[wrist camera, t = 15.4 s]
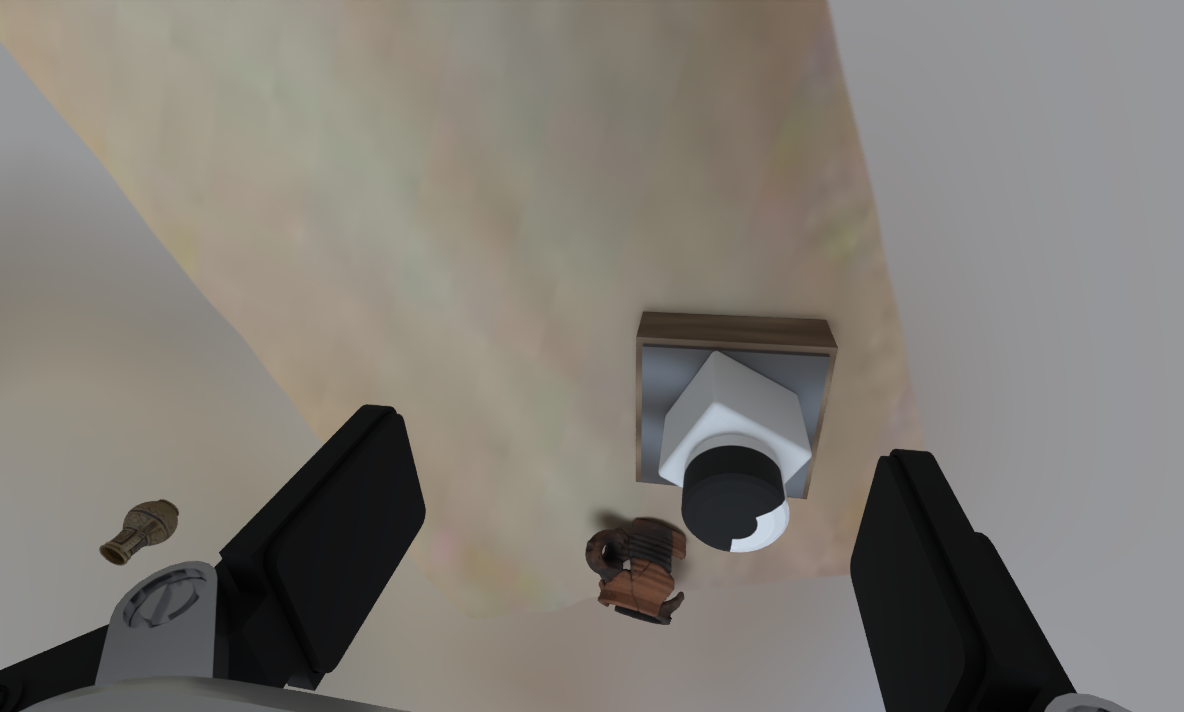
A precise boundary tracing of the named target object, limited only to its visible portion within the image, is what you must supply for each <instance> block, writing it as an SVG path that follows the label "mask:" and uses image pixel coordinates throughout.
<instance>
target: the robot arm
mask: <svg viewBox="0 0 1184 712" xmlns="http://www.w3.org/2000/svg"><path fill="white" fill-rule="evenodd" d="M425 514H426V509H425V504H424V500H423V496H422V492H421V488H420V483H419V479H418V475H417V471H416V467H415V463H414V459H413V455H412V451H411V447H410V443H409V439H408V435H407V431H406V427H405V423H404V419H403V417H402V416H401V415H400V414H397V412H396V410H395V409H394V408H393V407H391V406H380V405H368V404H367V405H363V406H362V407H361V408H359V409H358V410H357V412H356V413H355V414H354V415H353V416H352V417H351V418H350V419H349V420H348V421H347V422H346V423H345V424H344V425H343V426H342V427H341V428H340V429H339V430H338V431H337V432H336V433H335V434H334V435H333V436H332V437H331V438H330V439H329V440H328V441H327V442H326V443H325V444H324V445H323V446H322V448H321V449H319V451H318V452H317V453H316V454H315V455H314V456H313V457H312V458H311V459H310V460H309V461H308V462H307V463H306V464H305V465H304V466H303V467H302V468H301V469H300V470H299V471H298V472H297V473H296V474H295V475H294V476H293V477H292V478H291V479H290V480H289V481H288V483H286V484H285V485H284V486H283V487H282V488H281V489H280V490H279V492H278V493H277V494H276V495H275V496H274V497H273V498H272V499H271V500H270V501H269V502H268V503H267V504H266V505H265V506H264V507H263V508H262V509H261V510H260V511H259V512H258V513H257V514H256V515H255V516H254V517H253V518H252V519H251V520H250V521H249V522H248V523H247V525H246V526H244V527H243V528H242V529H241V530H240V532H239V533H238V534H237V535H236V536H235V537H234V538H233V539H232V540H231V541H230V542H229V543H228V544H227V545H226V546H225V547H224V548H223V549H222V550H221V551H220V552H219V553H220V555H221V557H222V560H221V561H220V562H219V563H218V564H217V565H216V566H215V567H214V568H213V567H212V566H211V565H210V564H209V563H205V562H201V561H189V562H183V563H179V564H175V565H171V566H169V567H166V568H164V569H162V570H160V571H157V572H155V573H153V574H152V575H150V576H149V577H147V578H146V579H144V580H142V581H141V582H139V583H138V584H137V585H136V586H134V587H133V588H132V589H131V590H130V591H129V592H127V593H126V594H125V596H124V597H123V598H122V599H121V600H120V602H119V603H118V604H117V605H116V607H115V609H114V612H113V614H112V616H111V619H110V623H109V624H108V625H105V626H103V627H101V628H98V629H96V630H94V631H91V632H89V633H86V634H84V635H82V636H79V637H77V638H75V639H72V640H70V641H68V642H65V643H63V644H61V645H58V646H56V647H54V648H51V649H49V650H47V651H44V652H42V653H40V654H37V655H35V656H33V657H30V658H28V659H25V660H23V661H21V662H18V663H16V664H14V665H12V666H9V667H7V668H4V669H2V670H0V712H409V711H404V710H398V709H393V708H387V707H382V706H376V705H371V704H366V703H360V702H355V701H350V700H344V699H339V698H334V697H328V696H323V695H318V694H312V693H307V692H301V691H295V690H288V689H283V688H284V686H285V684H286V683H287V684H288V686H292V687H297V688H303V689H308V690H313V691H315V690H316V688H317V686H318V685H319V683H320V682H321V680H322V678H323V677H324V675H325V673H330V672H332V671H333V670H334V669H335V668H336V666H337V665H338V664H339V662H340V660H341V659H342V657H343V655H344V654H345V652H346V650H347V649H348V647H349V645H350V644H351V642H352V641H353V639H354V637H355V635H356V634H357V632H358V631H359V629H360V627H361V626H362V624H363V622H364V621H365V619H366V617H367V616H368V614H369V612H370V611H371V609H372V608H373V606H374V604H375V603H376V601H377V599H378V598H379V596H380V594H381V593H382V591H383V589H384V588H385V586H386V584H387V583H388V581H389V579H390V578H391V576H392V574H393V573H394V571H395V569H396V568H397V566H398V565H399V563H400V561H401V560H402V558H403V556H404V555H405V553H406V551H407V550H408V548H409V546H410V545H411V543H412V541H413V540H414V538H415V537H416V535H417V533H418V532H419V530H420V528H421V527H422V525H423V522H424V519H425ZM850 572H851V579H852V583H853V587H854V591H855V595H856V599H857V602H858V606H859V610H860V614H861V618H862V621H863V625H864V629H865V633H866V637H867V640H868V644H869V648H870V652H871V656H872V660H873V663H874V667H875V671H876V675H877V679H878V683H879V687H880V690H881V694H882V698H883V702H884V705H885V709H886V712H1131V711H1129V710H1127V709H1125V708H1123V707H1121V706H1119V705H1118V704H1116V703H1114V702H1111V701H1108V700H1105V699H1102V698H1099V697H1096V696H1093V695H1089V694H1077V692H1076V690H1075V689H1074V687H1073V685H1072V683H1071V681H1070V680H1069V678H1068V676H1067V674H1066V673H1065V671H1064V669H1063V667H1062V666H1061V664H1060V662H1059V660H1058V658H1057V657H1056V655H1055V653H1054V651H1053V650H1052V648H1051V646H1050V645H1049V643H1048V641H1047V639H1046V638H1045V635H1044V634H1043V632H1042V630H1041V628H1040V627H1039V625H1038V623H1037V621H1036V619H1035V618H1034V616H1033V614H1032V612H1031V611H1030V609H1029V607H1028V605H1027V604H1026V602H1025V600H1024V598H1023V596H1022V595H1021V593H1020V591H1019V589H1018V587H1017V586H1016V584H1015V582H1014V580H1013V579H1012V577H1011V575H1010V573H1009V572H1008V570H1007V568H1006V566H1005V565H1004V563H1003V561H1002V559H1001V557H1000V556H999V554H998V552H997V550H996V549H995V547H994V545H993V544H992V542H991V541H990V540H989V538H988V537H987V536H985V535H984V534H982V533H978V532H974V530H973V528H972V526H971V524H970V522H969V520H968V519H967V517H966V515H965V513H964V512H963V510H962V508H961V506H960V504H959V502H958V500H957V498H956V496H955V495H954V493H953V491H952V489H951V487H950V485H949V483H948V482H947V480H946V478H945V476H944V474H943V472H942V471H941V469H940V467H939V465H938V463H937V461H936V460H935V458H934V456H933V455H932V454H931V453H930V452H927V451H916V450H904V449H894V450H892V451H891V453H890V455H889V456H881V457H880V458H879V460H878V463H877V467H876V470H875V474H874V478H873V481H872V485H871V488H870V492H869V496H868V499H867V503H866V506H865V510H864V514H863V517H862V521H861V525H860V528H859V532H858V535H857V539H856V543H855V546H854V550H853V553H852V557H851V564H850Z"/></svg>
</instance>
